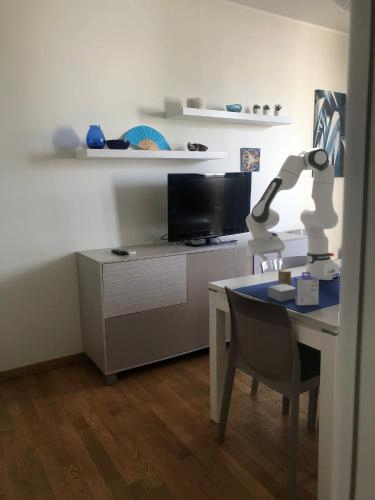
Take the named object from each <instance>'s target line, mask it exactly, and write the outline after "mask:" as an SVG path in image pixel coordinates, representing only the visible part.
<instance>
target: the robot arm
mask: <svg viewBox="0 0 375 500" xmlns="http://www.w3.org/2000/svg"><path fill="white" fill-rule="evenodd" d="M304 170H305V171H308V170H309V171H310V170H312V172H313V181H312V187H311V188H312V189H311V195H310V196H311V199H312V200H313V202H314V207H309V208H306V209H303V210H302V211H301V213H300V217H299V218H300V222H301V223H302V225H303V226H304V228H305V229H304V230H305V232H306V237H307V253H306V267H305V268H306V269H305V272H310V276H311V277H317V278H318V279H319V280H322V281H324V280H325V281H331V280H333V279H332V278H333V277H332V275H334V274H336V273H339V276H340V272H341V271H340V269H341V268H340V265H339V264H338V263H337V262H336V261H334V260H333V259H332V258H331V257H334V256H335V253H334V252H329V238H328V236H327V235H326V232H325V230H331V229H332V230H333V229H334V228H336V227H337V226H338V223H339V215H338V213H337V212H336V211H335V207H334V203H333V201H334V200H333V194H334V187H335V186H334V185H335V177H336V176H335V173H336V172H335V167H334V165H333V164H331V163H330V160H329V153H328V152H327V151H326V150H325V149H324V148H320V147H315V148H310V149H307V150H303V151H302V152H300V153H299V154H297V153H291V154H289V155H288V156H287V157H286V158H285V160H284V161H283V164H282V165H281V167H280V169H279V171H278V173H277V175H276V176H275V177H274V178H273V179H272V180H271V182H269V184H268V185H267V187H266V189H265V190H264V192H263V194H262V195H261V197H260V199H259V200H258V202H257V203H256V204H255V205H254V206H253V207H252V209H251V212H250V213H248V215H246V218H245V224H246V227H247V229H248V231H249V233H250V234H251V235H252V238H253V239H249V240H248V241H247V245H248V247H249V251H250V253H251V255H252V256H259V257H260V258H261V259H263V261H264V262H265V261H267V260H268V257H267V256H265V255H269V254H275V253H276V254H278V255H277V258H278V259H279V260H280V259H282V258H283V255H282V252H283V251H284V250H285V249H286V245H285V244H284V241H283V240H282V239H281V238H280V237H279V234H278V233H277V232H272V231H268V230H271V229H272V228H274V227H276V226H277V225H278V223H279V221H280V214H279V212H277V211H276V210H274V209H272V208H271V205H272V203H273V201H274V199H276V197H277V194H279V193H280V192H281V191H289V190H292V189H293V188H294V187H295V186H296V185H297V183H298V180H299V178H300V176H301V173H303V171H304ZM304 275H309V274H304Z"/></svg>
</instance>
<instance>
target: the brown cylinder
mask: <svg viewBox="0 0 375 500" xmlns="http://www.w3.org/2000/svg"><path fill="white" fill-rule="evenodd" d="M277 275H278V277H277V279H278V280H277V282H278V283H277V285H280V284H287V285H290V286H292V271H291V270H288V269H281V270H278V273H277Z"/></svg>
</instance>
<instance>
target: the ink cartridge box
mask: <svg viewBox="0 0 375 500" xmlns="http://www.w3.org/2000/svg"><path fill="white" fill-rule="evenodd" d="M305 274H309V275H305ZM319 282H320V281H319V279H318V278H317V277H311V276H310V272H306V271H305V272H301V276H298V277H294V284H295V285H294V287H295V299H294V303H295V305H296V306H315V305H316V306H318V305H319V286H320V285H319V284H320V283H319Z"/></svg>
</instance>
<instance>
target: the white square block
mask: <svg viewBox="0 0 375 500" xmlns="http://www.w3.org/2000/svg"><path fill="white" fill-rule="evenodd" d="M267 297H269V298H271V299H273V300H275V301H278V302H281V303H282V302H287V301H291V300H295V286H292V285H291V286H290V285H287V284H280V285H278V284H275V285H270V286H268V287H267Z"/></svg>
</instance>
